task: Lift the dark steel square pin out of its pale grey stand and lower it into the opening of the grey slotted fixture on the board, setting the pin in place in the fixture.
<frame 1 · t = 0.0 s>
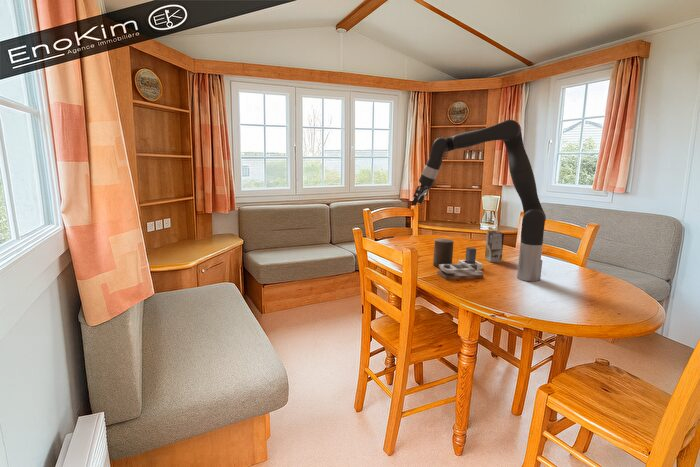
hand: (416, 204, 198), 31 cm above the table, tool tilted 20°, fingers open, 8 cm apart
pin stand: (469, 266, 195), on the table
steel pin: (470, 257, 194), in the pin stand
coffee box: (492, 260, 208), on the table
pillar candle: (442, 265, 197), on the table
grey slotted fixture: (459, 275, 180), on the table
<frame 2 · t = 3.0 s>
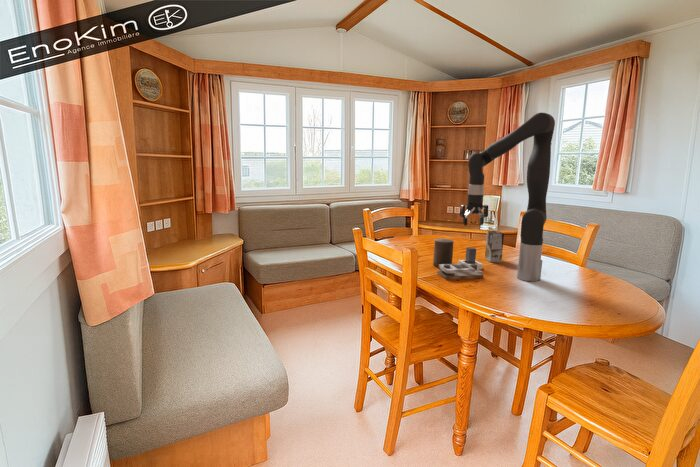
hand: (473, 225, 190), 22 cm above the table, tool pointing down, fingers open, 8 cm apart
nothing on the table moved.
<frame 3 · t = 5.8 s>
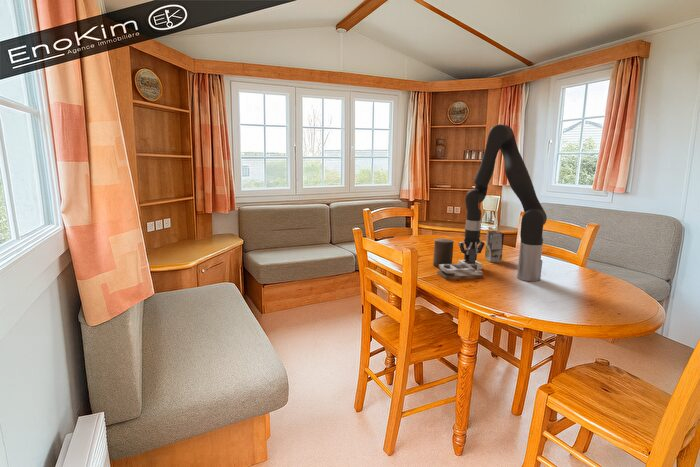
hand: (470, 260, 194), 3 cm above the table, tool pointing down, fingers closed on steel pin, 3 cm apart
steel pin: (470, 257, 194), in the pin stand, touching gripper
everything else where it was.
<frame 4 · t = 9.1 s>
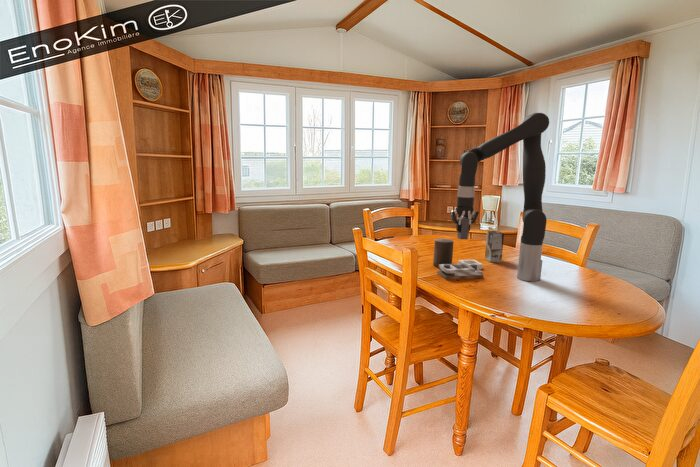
hand: (462, 231, 177), 21 cm above the table, tool pointing down, fingers closed on steel pin, 3 cm apart
steel pin: (463, 228, 176), point 23 cm above the table, touching gripper
everything else where it was.
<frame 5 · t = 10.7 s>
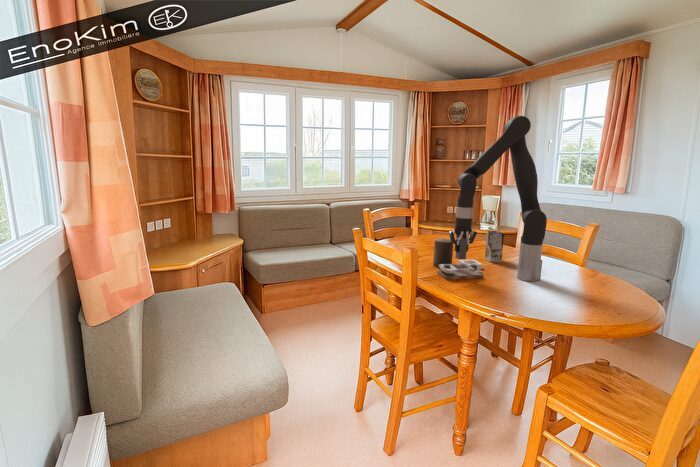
hand: (461, 251, 178), 12 cm above the table, tool pointing down, fingers closed on steel pin, 3 cm apart
steel pin: (461, 248, 178), point 14 cm above the table, touching gripper
everything else where it was.
when the fingers open (6 cm above the table, at t = 12.3 s): steel pin stays where it is, resting on grey slotted fixture.
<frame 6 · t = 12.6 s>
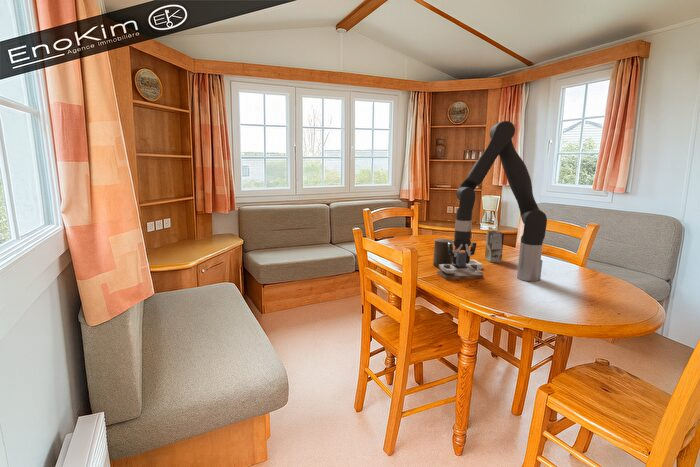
hand: (460, 263, 179), 6 cm above the table, tool pointing down, fingers open, 6 cm apart
steel pin: (460, 262, 179), point 6 cm above the table, touching grey slotted fixture
everything else where it was.
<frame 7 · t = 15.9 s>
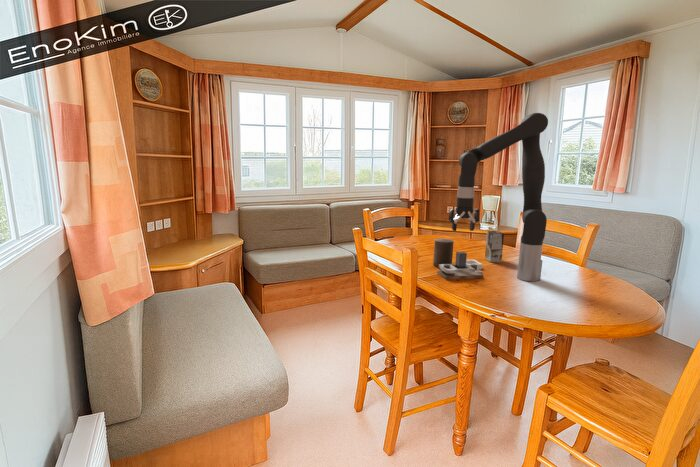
hand: (463, 230, 176), 22 cm above the table, tool pointing down, fingers open, 8 cm apart
nothing on the table moved.
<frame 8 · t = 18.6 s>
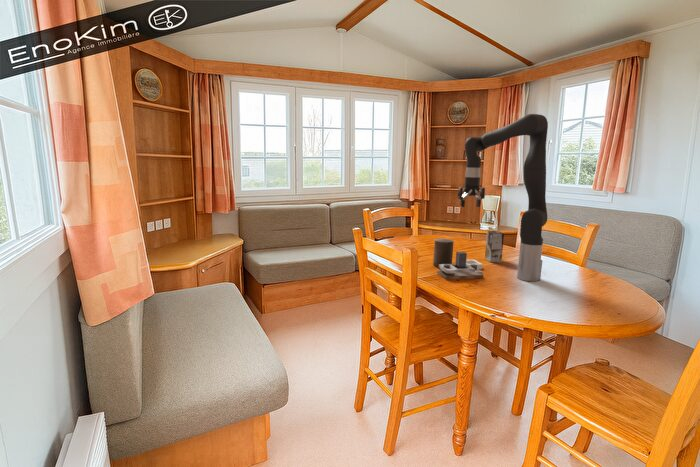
hand: (470, 206, 199), 30 cm above the table, tool pointing down, fingers open, 8 cm apart
nothing on the table moved.
at the end: steel pin 0.0 cm off-centre on the grey slotted fixture, point 6.5 cm above the grey slotted fixture's base; steel pin tilted 0°; the gripper is holding nothing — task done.
